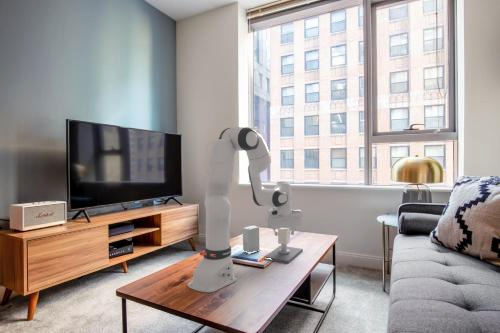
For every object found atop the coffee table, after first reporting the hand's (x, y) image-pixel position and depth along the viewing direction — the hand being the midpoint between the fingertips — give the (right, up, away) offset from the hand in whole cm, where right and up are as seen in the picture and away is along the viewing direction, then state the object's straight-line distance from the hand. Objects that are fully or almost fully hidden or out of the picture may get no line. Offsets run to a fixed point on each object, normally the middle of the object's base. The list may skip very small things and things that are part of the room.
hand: (284, 235), depth 162 cm
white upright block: (0, -5, 0) cm, 5 cm away
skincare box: (-19, -12, +6) cm, 23 cm away
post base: (0, -12, 0) cm, 12 cm away
